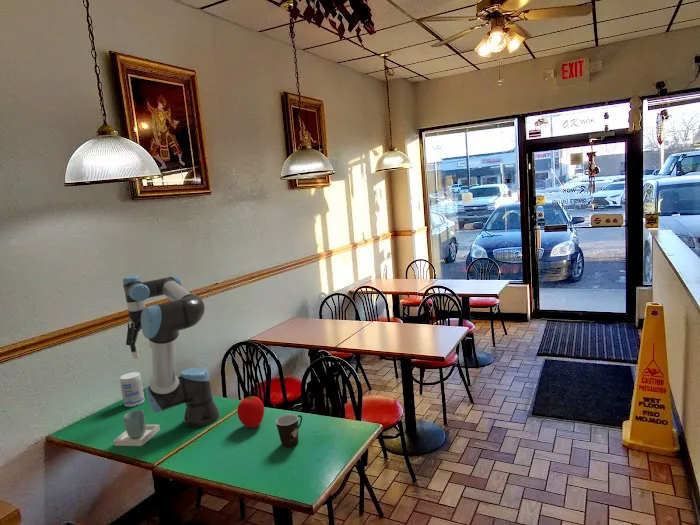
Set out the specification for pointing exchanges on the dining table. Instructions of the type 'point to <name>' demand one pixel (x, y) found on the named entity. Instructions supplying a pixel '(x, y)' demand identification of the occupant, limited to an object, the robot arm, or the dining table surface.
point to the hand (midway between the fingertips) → (144, 352)
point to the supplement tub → (132, 389)
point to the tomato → (251, 411)
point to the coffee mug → (288, 430)
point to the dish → (127, 441)
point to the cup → (135, 423)
